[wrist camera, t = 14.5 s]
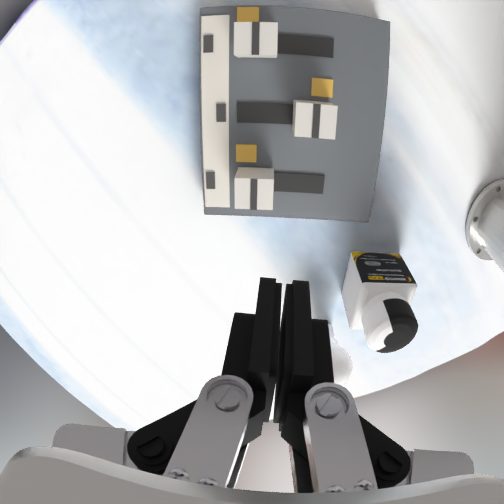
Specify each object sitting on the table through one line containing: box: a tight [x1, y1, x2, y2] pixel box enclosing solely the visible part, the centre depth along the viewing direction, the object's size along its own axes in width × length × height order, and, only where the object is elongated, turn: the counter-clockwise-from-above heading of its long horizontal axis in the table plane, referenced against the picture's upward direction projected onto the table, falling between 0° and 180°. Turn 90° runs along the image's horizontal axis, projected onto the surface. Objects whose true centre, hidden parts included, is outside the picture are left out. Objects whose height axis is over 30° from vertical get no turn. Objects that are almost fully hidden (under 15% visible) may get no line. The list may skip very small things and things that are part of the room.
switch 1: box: [234, 22, 278, 58], centre depth 22 cm, size 4×3×4 cm
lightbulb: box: [328, 324, 352, 386], centre depth 41 cm, size 6×6×11 cm
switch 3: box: [292, 99, 338, 140], centre depth 26 cm, size 4×3×4 cm
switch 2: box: [234, 167, 274, 210], centre depth 29 cm, size 4×3×4 cm
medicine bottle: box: [341, 251, 418, 353], centre depth 35 cm, size 7×7×12 cm
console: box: [200, 6, 390, 222], centre depth 28 cm, size 18×22×3 cm
